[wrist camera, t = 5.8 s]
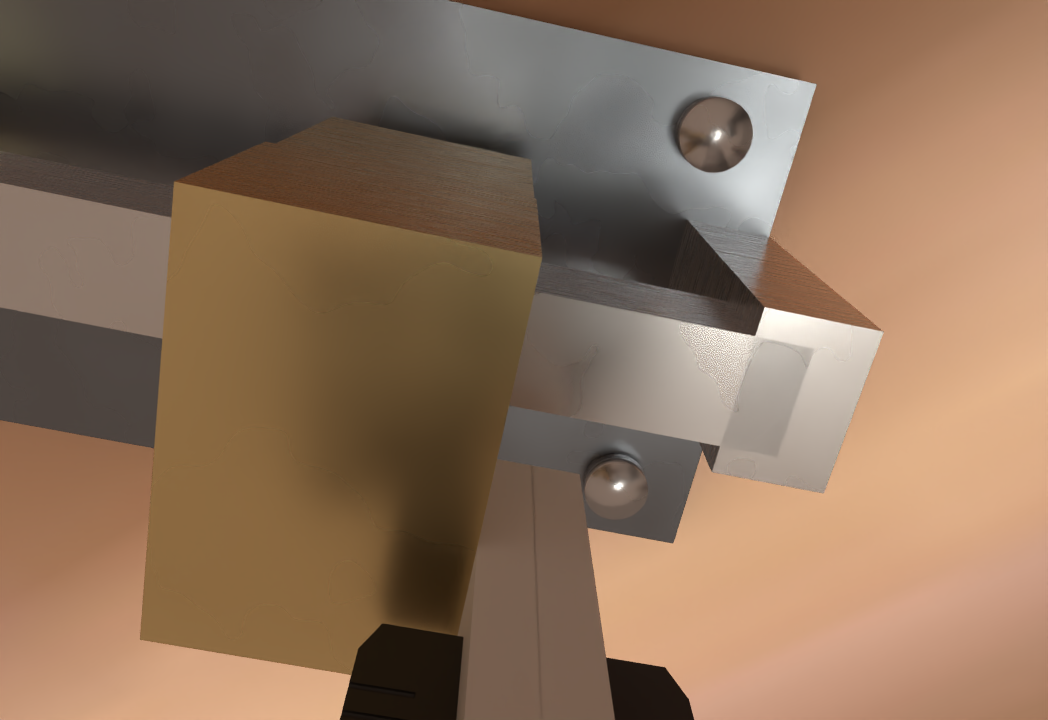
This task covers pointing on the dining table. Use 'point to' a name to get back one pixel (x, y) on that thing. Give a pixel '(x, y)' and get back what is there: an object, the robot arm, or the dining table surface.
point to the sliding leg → (333, 389)
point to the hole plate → (408, 106)
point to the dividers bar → (552, 331)
